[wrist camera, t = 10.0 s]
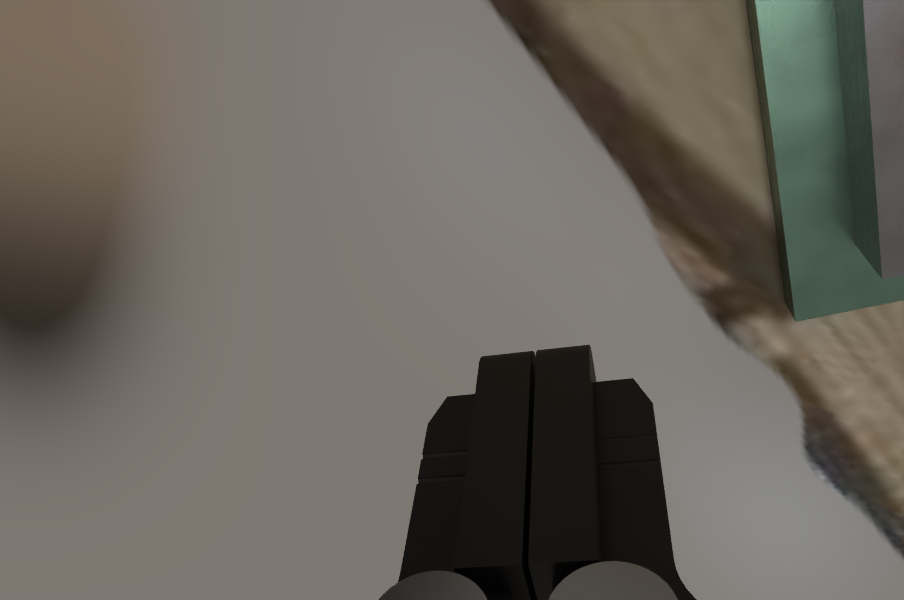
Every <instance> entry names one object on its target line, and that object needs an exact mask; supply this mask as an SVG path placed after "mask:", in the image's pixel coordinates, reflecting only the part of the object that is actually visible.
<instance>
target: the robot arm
mask: <svg viewBox="0 0 904 600" xmlns="http://www.w3.org/2000/svg"><path fill="white" fill-rule="evenodd" d="M422 454H423V459H422V460H421V464H420V470H419V475H418V482H419V483H418V484H417V486H416V491H415V496H414V502H413V507H412V513H411V518H410V523H409V529H408V534H407V540H406V545H405V551H404V557H403V561H402V567H401V572H400V576H399V580H398V583H396V584H395V585H394V586H392V587H391V588H390V589H388V591H386V592H385V593H384V594H383V595H382V596H381V597H380V598H379V600H696V599H695V598H694V597H693V596H692V594H691V593H690V592H689V591H688V590H687V589H686V587H685V586H684V584H683V583H682V581H681V580H680V577H679V575H678V573H677V570H676V567H675V563H674V557H673V550H672V543H671V535H670V528H669V521H668V514H667V506H666V499H665V491H664V484H663V476H662V469H661V462H660V454H659V447H658V440H657V432H656V424H655V417H654V410H653V403H652V402H651V401H650V399H649V398H648V397H647V395H646V394H645V393H644V392H643V390H642V389H641V388H640V387H639V385H638V384H637V383H636V382H635V380H634V379H633V378H632V379H622V380H611V381H601V382H596V377H595V371H594V364H593V359H592V352H591V347H590V345H583V346H573V347H565V348H555V349H545V350H537V352H536V356H535V353H534V352H533V351H528V352H519V353H510V354H501V355H492V356H482V357H481V358H480V362H479V369H478V376H477V384H476V392H475V394H471V395H460V396H450V397H447V398H446V399H445V401H444V402H443V404H442V405H441V406H440V408H439V409H438V410H437V412H436V413H435V415H434V416H433V418H432V419H431V420H430V422H429V423H428V426H427V432H426V437H425V442H424V448H423V453H422Z"/></svg>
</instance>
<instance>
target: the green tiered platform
mask: <svg viewBox="0 0 904 600" xmlns="http://www.w3.org/2000/svg"><path fill="white" fill-rule="evenodd" d="M746 1H747V9H748V17H749V24H750V32H751V40H752V47H753V55H754V63H755V70H756V78H757V86H758V93H759V101H760V109H761V116H762V124H763V132H764V139H765V147H766V155H767V163H768V170H769V178H770V186H771V193H772V201H773V209H774V216H775V224H776V232H777V239H778V247H779V255H780V262H781V270H782V278H783V285H784V293H785V301H786V305H787V307H788V309H789V310H790V312H791V314H792V316H793V318H794V320H795V322H796V321H801V320H806V319H811V318H816V317H821V316H826V315H831V314H836V313H841V312H846V311H851V310H856V309H861V308H866V307H871V306H876V305H881V304H886V303H891V302H896V301H901V300H904V0H746Z"/></svg>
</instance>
